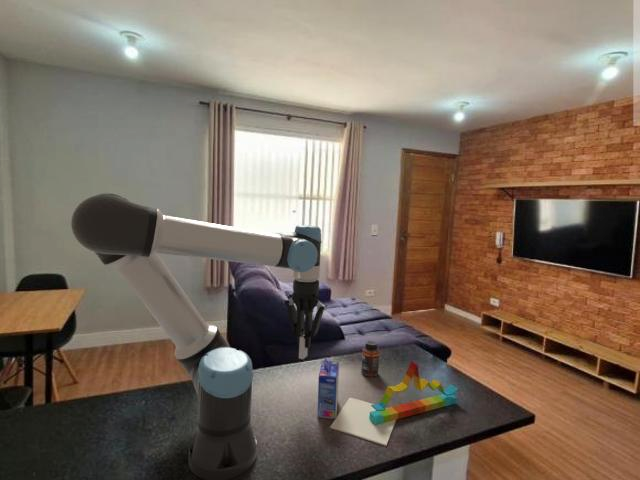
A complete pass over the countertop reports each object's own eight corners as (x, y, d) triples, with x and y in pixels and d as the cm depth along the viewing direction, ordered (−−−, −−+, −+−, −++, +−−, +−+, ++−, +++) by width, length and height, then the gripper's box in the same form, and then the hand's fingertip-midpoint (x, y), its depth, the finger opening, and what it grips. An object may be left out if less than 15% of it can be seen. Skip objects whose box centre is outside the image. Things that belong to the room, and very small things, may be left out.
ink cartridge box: (319, 398, 107) (322, 352, 105) (337, 400, 106) (340, 354, 105) (315, 417, 97) (318, 367, 95) (335, 419, 96) (339, 369, 95)
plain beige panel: (330, 427, 92) (330, 426, 92) (349, 398, 107) (349, 397, 107) (386, 446, 87) (386, 444, 87) (398, 412, 101) (398, 411, 101)
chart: (448, 397, 111) (453, 352, 109) (456, 403, 108) (462, 356, 106) (368, 418, 97) (373, 366, 95) (375, 425, 94) (380, 372, 92)
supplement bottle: (380, 372, 125) (383, 342, 124) (374, 379, 120) (376, 347, 119) (365, 367, 128) (367, 338, 127) (358, 374, 123) (360, 343, 122)
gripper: (332, 279, 102) (328, 356, 105) (292, 274, 107) (289, 348, 110) (321, 284, 95) (318, 367, 98) (280, 278, 100) (277, 357, 103)
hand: (303, 357), depth 104 cm, fingers closed
